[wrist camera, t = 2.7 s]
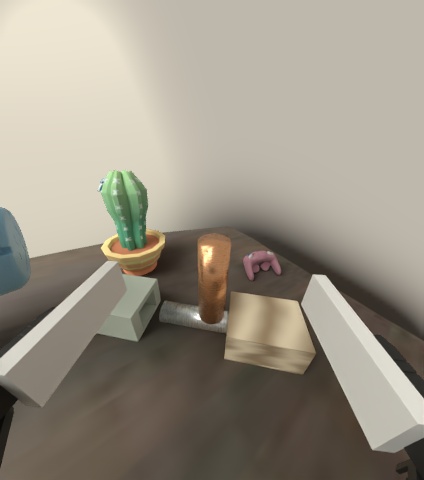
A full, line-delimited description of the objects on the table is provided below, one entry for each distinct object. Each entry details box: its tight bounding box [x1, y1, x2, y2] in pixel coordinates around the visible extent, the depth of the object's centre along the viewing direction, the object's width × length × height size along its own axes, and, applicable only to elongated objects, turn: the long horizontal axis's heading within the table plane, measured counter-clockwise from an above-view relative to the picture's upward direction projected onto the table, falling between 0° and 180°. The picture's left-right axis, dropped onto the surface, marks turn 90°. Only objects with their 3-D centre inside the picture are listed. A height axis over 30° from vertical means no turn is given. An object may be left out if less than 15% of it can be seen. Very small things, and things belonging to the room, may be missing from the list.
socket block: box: [97, 274, 161, 342], centre depth 31 cm, size 9×9×6 cm
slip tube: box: [159, 234, 231, 334], centre depth 26 cm, size 22×4×18 cm, turn 80°
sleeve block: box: [224, 291, 316, 375], centre depth 28 cm, size 12×9×6 cm
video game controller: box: [243, 251, 281, 281], centre depth 45 cm, size 10×5×7 cm, turn 107°
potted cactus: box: [98, 170, 165, 276], centre depth 41 cm, size 15×15×25 cm
